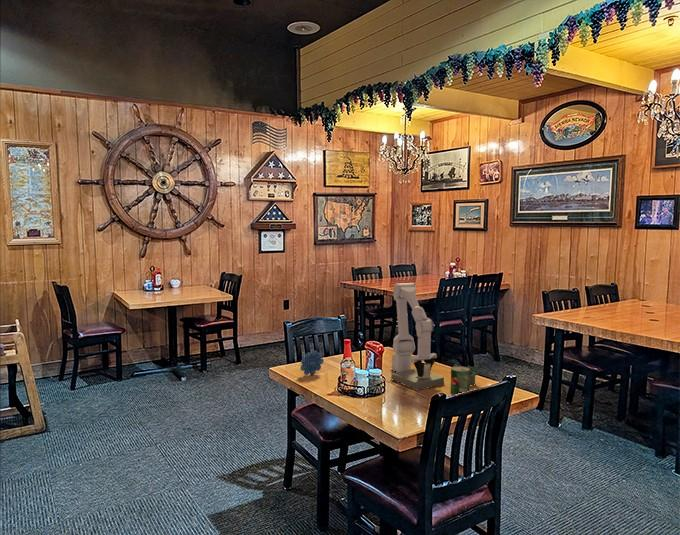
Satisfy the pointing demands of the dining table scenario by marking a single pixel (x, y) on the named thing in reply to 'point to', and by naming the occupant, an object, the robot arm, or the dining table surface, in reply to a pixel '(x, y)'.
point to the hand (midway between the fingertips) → (423, 375)
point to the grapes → (311, 362)
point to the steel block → (425, 371)
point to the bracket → (472, 375)
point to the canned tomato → (459, 379)
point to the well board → (412, 379)
